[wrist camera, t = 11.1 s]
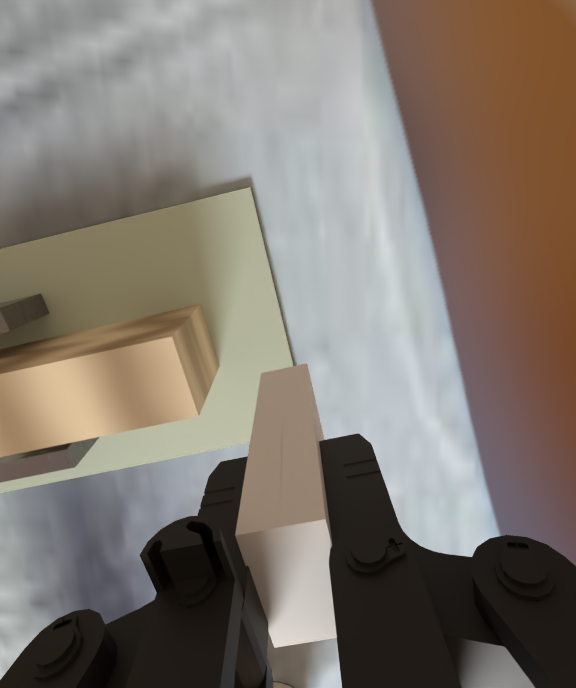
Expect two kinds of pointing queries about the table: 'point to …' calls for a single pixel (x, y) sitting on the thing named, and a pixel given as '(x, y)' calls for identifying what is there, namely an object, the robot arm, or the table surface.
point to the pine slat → (105, 380)
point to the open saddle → (44, 459)
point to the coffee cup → (280, 685)
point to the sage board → (157, 297)
